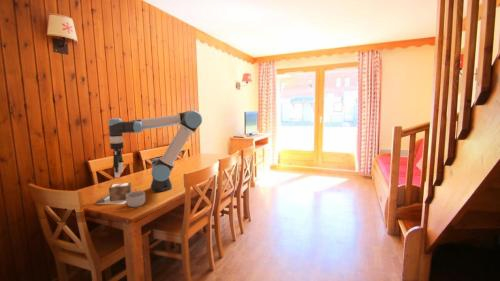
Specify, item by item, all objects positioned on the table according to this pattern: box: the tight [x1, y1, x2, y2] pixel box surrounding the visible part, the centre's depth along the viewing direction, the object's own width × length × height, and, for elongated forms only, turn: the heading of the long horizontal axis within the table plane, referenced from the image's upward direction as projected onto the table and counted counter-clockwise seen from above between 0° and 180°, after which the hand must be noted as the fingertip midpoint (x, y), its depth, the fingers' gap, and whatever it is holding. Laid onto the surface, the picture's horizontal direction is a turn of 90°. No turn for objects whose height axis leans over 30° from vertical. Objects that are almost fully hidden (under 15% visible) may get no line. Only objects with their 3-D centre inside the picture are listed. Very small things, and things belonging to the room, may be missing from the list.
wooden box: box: [108, 182, 132, 201], centre depth 167 cm, size 12×8×9 cm, turn 109°
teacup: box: [126, 190, 146, 208], centre depth 157 cm, size 14×11×8 cm
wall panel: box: [94, 193, 127, 205], centre depth 168 cm, size 18×20×2 cm
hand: (119, 174), depth 166 cm, fingers open, 13 cm apart
